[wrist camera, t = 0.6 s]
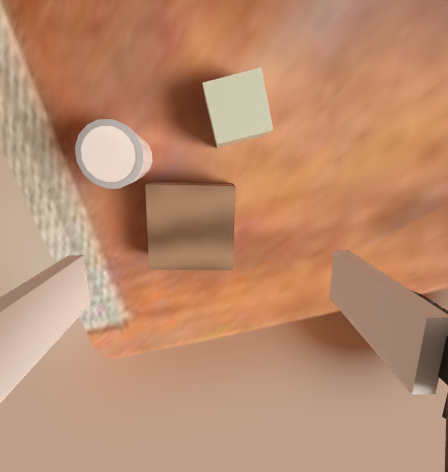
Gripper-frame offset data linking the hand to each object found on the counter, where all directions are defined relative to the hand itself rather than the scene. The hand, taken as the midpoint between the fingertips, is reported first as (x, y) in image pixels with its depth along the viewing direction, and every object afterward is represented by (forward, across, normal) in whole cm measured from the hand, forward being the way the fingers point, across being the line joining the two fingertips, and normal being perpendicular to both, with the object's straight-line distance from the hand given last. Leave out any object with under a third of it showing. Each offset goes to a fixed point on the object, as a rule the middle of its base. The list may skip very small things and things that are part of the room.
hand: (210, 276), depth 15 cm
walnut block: (+23, -3, -2) cm, 23 cm away
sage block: (+23, +3, +11) cm, 26 cm away
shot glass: (+23, -10, +7) cm, 26 cm away
